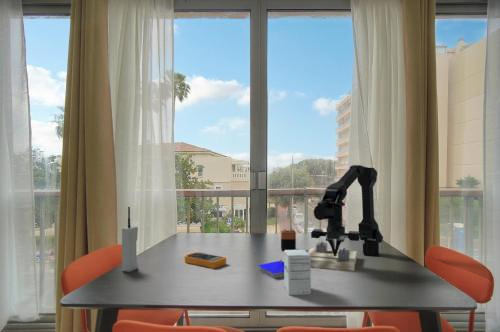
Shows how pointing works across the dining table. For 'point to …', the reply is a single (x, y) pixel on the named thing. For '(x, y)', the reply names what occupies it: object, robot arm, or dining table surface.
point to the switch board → (332, 260)
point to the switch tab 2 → (344, 254)
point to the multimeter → (205, 260)
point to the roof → (273, 269)
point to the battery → (288, 240)
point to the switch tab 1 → (321, 247)
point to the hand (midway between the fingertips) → (335, 255)
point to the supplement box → (297, 272)
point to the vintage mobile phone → (129, 247)
